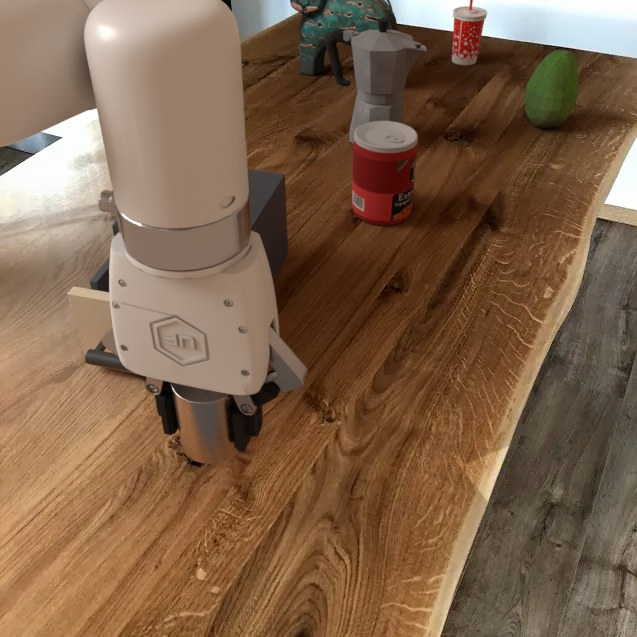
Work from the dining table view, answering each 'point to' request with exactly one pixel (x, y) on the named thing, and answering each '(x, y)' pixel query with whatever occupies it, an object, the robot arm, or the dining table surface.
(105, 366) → the drawer
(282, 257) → the cabinet
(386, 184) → the canned food
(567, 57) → the avocado
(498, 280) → the dining table surface
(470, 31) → the beverage cup
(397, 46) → the coffeepot
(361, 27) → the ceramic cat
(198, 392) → the cylinder
